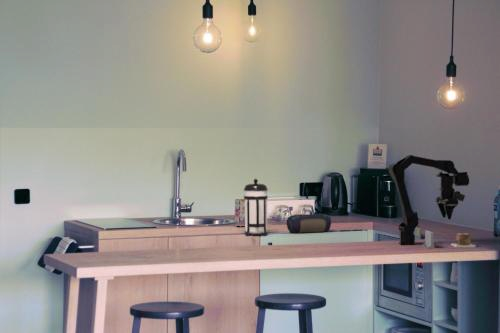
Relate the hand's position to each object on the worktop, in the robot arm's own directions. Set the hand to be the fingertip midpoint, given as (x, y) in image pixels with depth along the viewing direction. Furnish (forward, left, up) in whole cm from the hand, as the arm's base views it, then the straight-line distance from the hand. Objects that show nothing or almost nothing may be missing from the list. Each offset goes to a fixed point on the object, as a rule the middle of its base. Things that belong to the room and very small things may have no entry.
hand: (446, 218), depth 391 cm
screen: (-12, -12, -12) cm, 20 cm away
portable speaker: (-61, +55, -12) cm, 83 cm away
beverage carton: (-11, +30, -12) cm, 34 cm away
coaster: (+4, -12, -12) cm, 18 cm away
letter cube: (+4, -12, -11) cm, 17 cm away
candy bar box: (-96, +90, -12) cm, 132 cm away
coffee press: (-90, +43, -12) cm, 100 cm away
